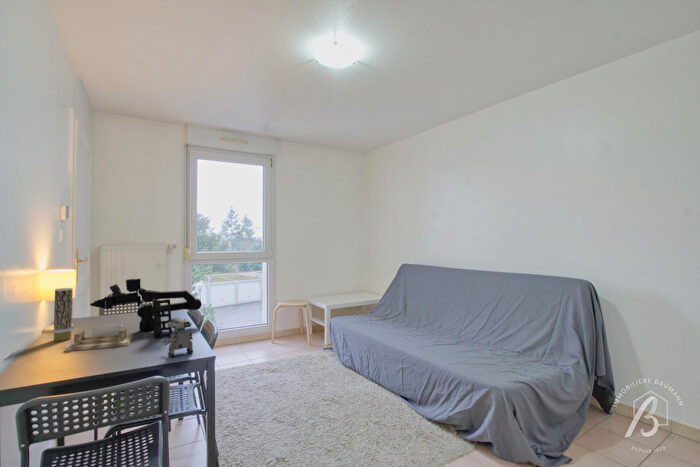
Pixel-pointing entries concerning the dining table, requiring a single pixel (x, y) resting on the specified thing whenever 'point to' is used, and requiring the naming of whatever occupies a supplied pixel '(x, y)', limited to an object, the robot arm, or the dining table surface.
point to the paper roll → (106, 330)
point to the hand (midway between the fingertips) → (92, 303)
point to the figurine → (179, 336)
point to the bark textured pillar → (63, 314)
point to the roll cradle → (99, 341)
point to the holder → (157, 319)
